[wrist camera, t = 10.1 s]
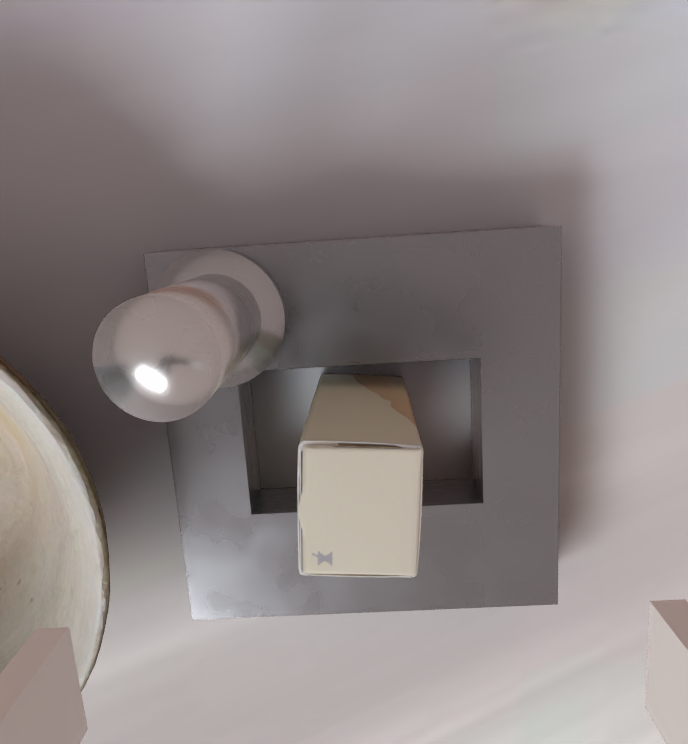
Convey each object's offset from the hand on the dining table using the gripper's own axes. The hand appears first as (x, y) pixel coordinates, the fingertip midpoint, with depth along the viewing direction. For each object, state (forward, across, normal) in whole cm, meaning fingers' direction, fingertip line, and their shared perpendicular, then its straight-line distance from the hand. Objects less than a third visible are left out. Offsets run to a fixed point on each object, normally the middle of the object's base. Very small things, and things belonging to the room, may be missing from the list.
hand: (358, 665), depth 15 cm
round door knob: (+19, -6, +6) cm, 20 cm away
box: (+19, 0, 0) cm, 19 cm away
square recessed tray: (+19, 0, 0) cm, 19 cm away
